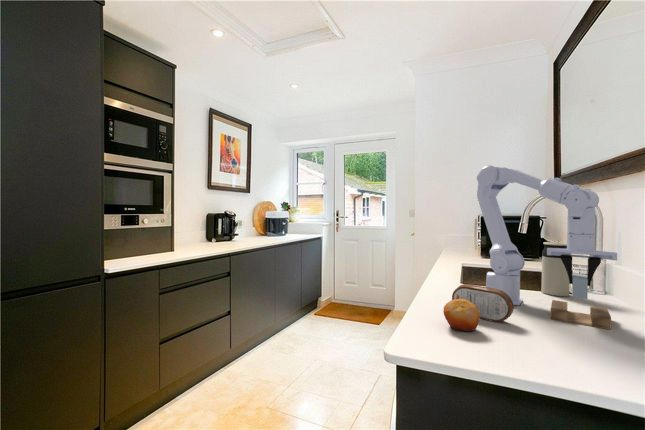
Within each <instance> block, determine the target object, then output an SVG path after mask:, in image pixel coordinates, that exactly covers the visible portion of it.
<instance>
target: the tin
mask: <svg viewBox="0 0 645 430" xmlns="http://www.w3.org/2000/svg"><path fill="white" fill-rule="evenodd" d="M454 299H467V300H468V301H470V302H471V303H473V304H474V305H476V306H477V308H478V311H479V313H480V318H479V319H482V320H486V321H490V322H494V323H495V322H496V323H500V322H501V323H502V322H504V321H506V320H507V319H508V318H510V317H511V316H512V315H513V313H514V309H515V308H514V305H513V302H512V300H511V298H510V297H509V296H508V295H507V294H506V293H505V292H503V291H501V290H499V289H494V288H488V287H486V286H481V285H476V284H470V283H465V284H461V285H459V286H458V287H457V288H455V289H454V290H453V292H452V295H451V300H454Z"/></svg>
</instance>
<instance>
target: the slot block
mask: <svg viewBox="0 0 645 430" xmlns="http://www.w3.org/2000/svg"><path fill="white" fill-rule="evenodd" d="M550 320H554V321H560V322H565V323H571V324H577V325H583V326H587V327H588V326H589V327H593V328H594V327H595V328H601V329H606V330H612V317H611V313H610V311H609V309H608V307H604V306H597V305H590V306H589V313H583V312H577V311H571V310H568V301H562V300H555V299H552V300H551V306H550Z"/></svg>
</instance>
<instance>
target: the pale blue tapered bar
mask: <svg viewBox="0 0 645 430" xmlns="http://www.w3.org/2000/svg"><path fill="white" fill-rule="evenodd" d="M572 277H573V284H571V295H572V298H575V299H576V298H577V299H582V300H588V292H589V291H588V290H589V289H588V287H589V286H588V279H587V274H581V273H580V274H578V273H572Z"/></svg>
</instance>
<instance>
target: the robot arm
mask: <svg viewBox="0 0 645 430" xmlns="http://www.w3.org/2000/svg"><path fill="white" fill-rule="evenodd" d="M476 180H477V190H476V193H477V194H476V198H477V201H478V204H479V207H480V210H481V213H482V216H483V220H484V223H485V226H486V229H487V232H488V236H489V238H490V241H491V245H492V246H491V248H490V249H489V255H490V256H489V257H490V259H489V265H490V268H491V269H492V270H493V271H487V272H486V279H485V287H488V288H494V289H499V290H501V291H503V292H505V293H506V294H507V295H508V296H509V297H510V298H511V300H512V302H513V305H515V306H521V303H522V301H523V298H521V297H520V295H521V294H520V293H521V292H520V291H521V270H523V268H524V267H525V263H526V261H525V258H524V256H523V255H522V254H521V253H520V252H519V250H518V247H517V246H516V245H515V244H514V243H513V242H512V241H511V238H510V235H509V232H508V229H507V226H506V223H505V221H504V220H505V219H504V217H503V215H502V212H501V208H500V205H499V203H498V199H497V197H498V195H499V193H500V192H501V191H502V190H504V188H506V187H507V186H508V185H509V184H519V185H522V186H525V187H527V188H531V189H534V190H537V191H538V194H539V196H541V197H542V198H545V199H548V200H550V201H553V202H555V203H558V204H561V205H562V206H565V208H566V209H567V222H566V223H567V224H566V225H567V226H566V227H567V228H566V229H567V230H566V231H567V232H566V233H567V234H566V243H567V249H562V248H547V255H556V256H561V260H562V262H563V264H564V266H565V268H566V271H567V274H568V277H569V284H570V285H572V284H573V277H572V275H573V258H583V259H584V258H585V259H587V274H586V276H587V279H588V287H591V283H592V280H593V278H594V275H595V273H596V271H597V269H598V267H599V266H600V265H601V262H602V260H609V261H618V253H617V252H616V251H605V250H604V251H603V250H595V233H596V232H595V230H596V229H595V228H596V227H595V225H596V216H595V215H596V207H597V206H598V204H599V202H600V197H599V195H598V194H597V193H596V192H594V191H593V190H591V189H588V188H587V189H586V188H585V189H584V188H583V189H580V187H581V186H580V185H578V184H573V185H572V184H570V183H567V182H565V181H562V180H563V179H562V178H559V177H554V178H552V177H551V178H547V179H545V180H544V179H542V178H539V177H536V176H534V175H531V174H528V173H526V172H523V171H522V170H518V169H515V168H514V169H513V168H509V167H503V166H502V167H500V166H494V165H486V166H483V167H482V168H481V169H480V171H479V172H478V174H477V175H476ZM569 254H570V255H569Z"/></svg>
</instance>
